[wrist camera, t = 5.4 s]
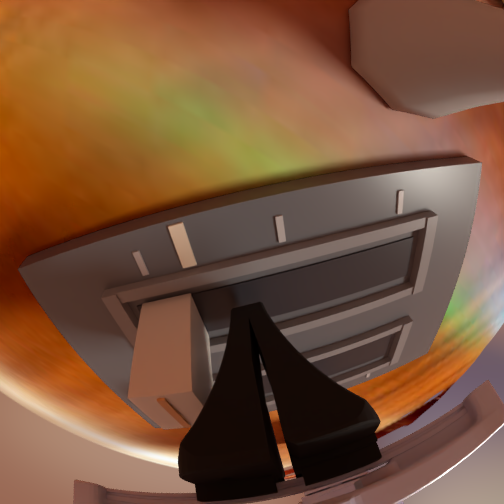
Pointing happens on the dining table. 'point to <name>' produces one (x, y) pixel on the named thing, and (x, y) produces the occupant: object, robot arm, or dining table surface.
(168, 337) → the fader
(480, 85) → the flask
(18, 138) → the dining table surface
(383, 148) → the dining table surface
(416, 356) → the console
